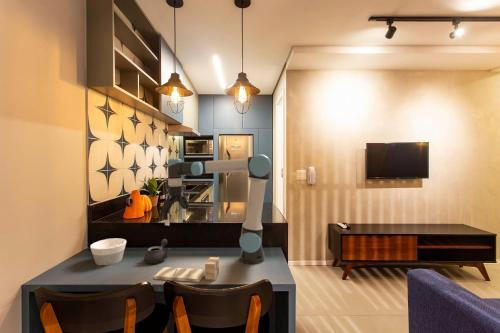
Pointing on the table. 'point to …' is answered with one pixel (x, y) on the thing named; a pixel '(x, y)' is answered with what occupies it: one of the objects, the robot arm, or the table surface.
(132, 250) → the table surface
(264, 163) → the robot arm
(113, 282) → the table surface
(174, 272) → the board
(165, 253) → the teapot
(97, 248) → the bowl
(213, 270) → the sanding block
